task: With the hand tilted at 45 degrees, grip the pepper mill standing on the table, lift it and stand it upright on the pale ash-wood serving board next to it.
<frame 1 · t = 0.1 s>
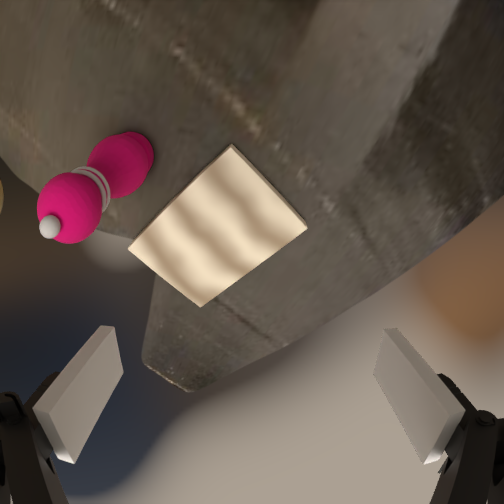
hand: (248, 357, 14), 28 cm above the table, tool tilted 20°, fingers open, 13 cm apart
pepper mill: (131, 154, 37), on the table
serving board: (213, 231, 42), on the table
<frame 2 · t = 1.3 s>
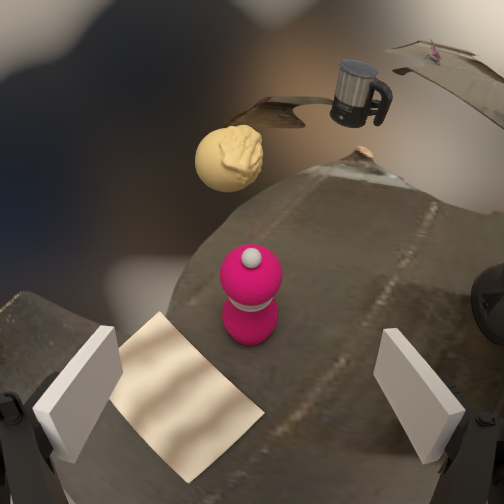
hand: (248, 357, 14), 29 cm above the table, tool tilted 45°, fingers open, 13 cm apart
milk frother: (358, 115, 72), on the table
sculpture: (230, 178, 59), on the table
lily: (432, 61, 102), on the table
pepper mill: (250, 325, 44), on the table
serving board: (174, 397, 38), on the table
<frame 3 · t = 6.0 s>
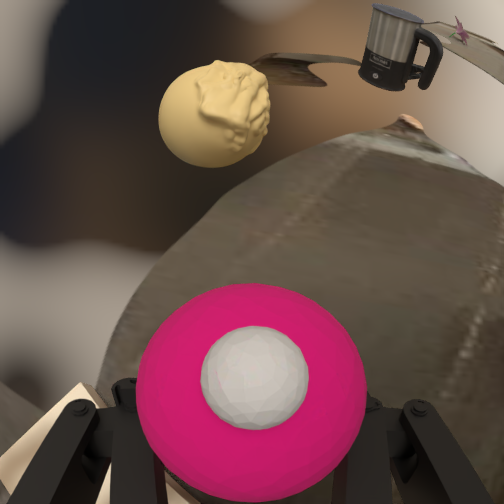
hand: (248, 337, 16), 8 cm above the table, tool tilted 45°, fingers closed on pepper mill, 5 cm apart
milk frother: (393, 79, 49), on the table
sculpture: (217, 148, 36), on the table
lily: (457, 41, 80), on the table
pepper mill: (247, 412, 21), on the table, touching gripper
when the fingers open (11 cm above the table, at t = 12.4 s): pepper mill moves 2 cm, resting on serving board.
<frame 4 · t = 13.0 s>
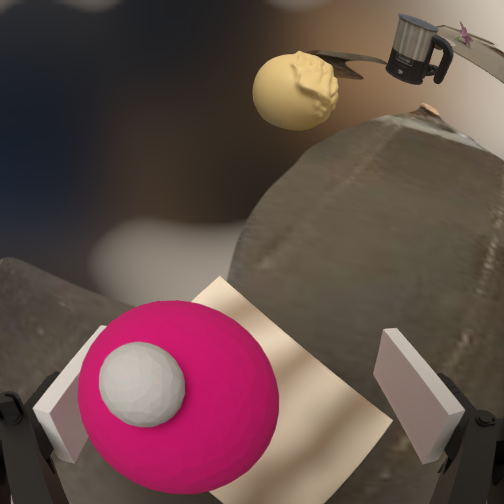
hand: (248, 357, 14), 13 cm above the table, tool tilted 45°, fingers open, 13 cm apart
milk frother: (412, 75, 58), on the table
sculpture: (292, 119, 44), on the table
lily: (462, 43, 88), on the table
pepper mill: (222, 414, 22), point 2 cm above the table, touching serving board
serving board: (247, 413, 24), on the table
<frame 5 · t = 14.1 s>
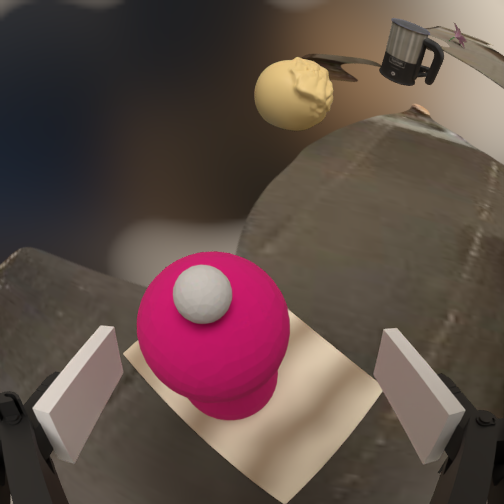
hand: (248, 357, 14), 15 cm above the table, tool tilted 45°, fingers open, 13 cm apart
milk frother: (405, 76, 62), on the table
sculpture: (290, 119, 48), on the table
lily: (456, 44, 92), on the table
pepper mill: (231, 381, 26), point 2 cm above the table, touching serving board
serving board: (253, 381, 28), on the table
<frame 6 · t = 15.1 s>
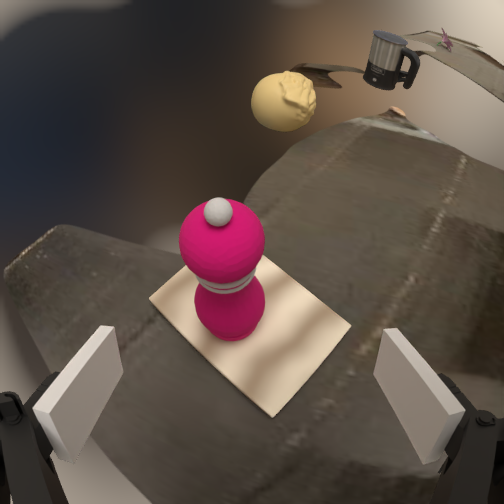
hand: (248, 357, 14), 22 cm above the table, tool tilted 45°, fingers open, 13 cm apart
milk frother: (387, 81, 72), on the table
sculpture: (281, 122, 58), on the table
lily: (443, 48, 102), on the table
pepper mill: (231, 316, 36), point 2 cm above the table, touching serving board
serving board: (248, 319, 38), on the table
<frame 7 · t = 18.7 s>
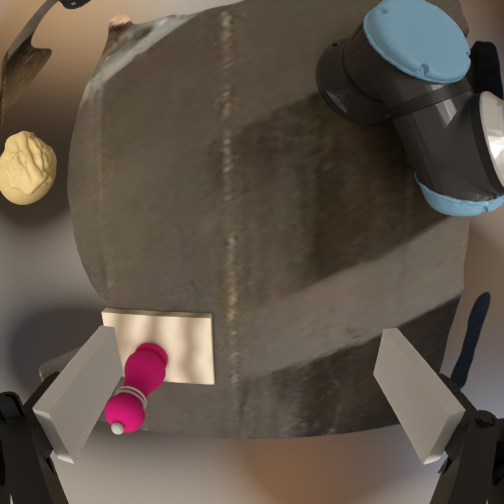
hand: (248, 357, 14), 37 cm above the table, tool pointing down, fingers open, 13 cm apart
sculpture: (42, 169, 47), on the table
pepper mill: (152, 356, 53), point 2 cm above the table, touching serving board
serving board: (160, 345, 55), on the table
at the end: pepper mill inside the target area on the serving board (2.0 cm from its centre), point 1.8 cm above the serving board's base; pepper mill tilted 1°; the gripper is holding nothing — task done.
